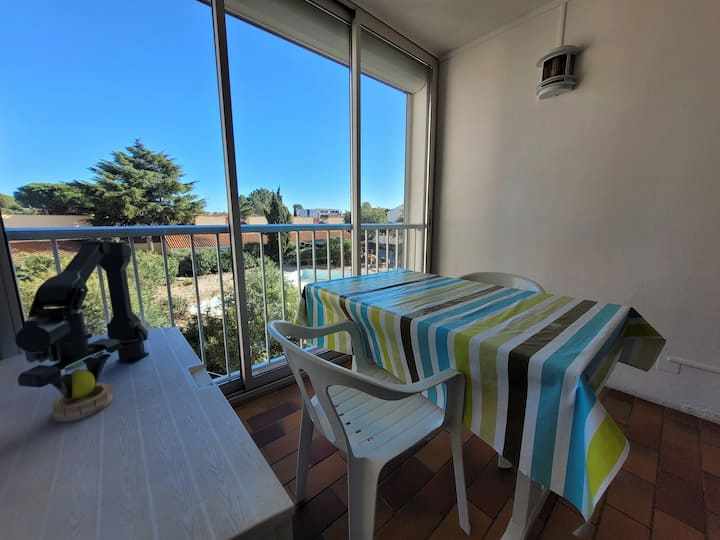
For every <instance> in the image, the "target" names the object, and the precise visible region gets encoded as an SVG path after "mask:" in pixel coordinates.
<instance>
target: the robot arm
mask: <svg viewBox="0 0 720 540" xmlns="http://www.w3.org/2000/svg"><path fill="white" fill-rule="evenodd" d="M131 257H132V248H131V246H130V245H129V244H127V243H126V242H124V241H107V240H104V239H103V240H102V239H100V240H99V239H98V240H97V239H96V240H84V241H82V242H81V245H80V249H79V250H78V251H77V252H76V254H75V255H74V256H73V258H72V259H71V260H70V261H69V263H68V264H67V265H66V266H65V268H64V269H63V270H62V271H61V272H60V273H59V274H55V275H54V276H51V277H50V278H47V280H45V281H43V283H42V284H40V285H39V286H38V288H37V290H36V292H35V294H34V297H33V300H32V303H31V307H30V310H29V313H28V318H30V319H28V320H25V321H24V327H23V328H21V329H20V330H19V331H18V332H17V333H16V337H15V338H14V340H15V343H16V345H17V346H18V347H19V348H20V349H21V350H23V351H24V355H25V358H26V360H27V362H28V363H30V364H31V363H35V362H38V363H39V365H36V366H33V367H31V368H30V369H27V370H25V371H23V372H20V373H19V375H18V376H17V383H18V386H19V387H29V388H42V387H43V388H44V387H46V386H48V385H52V386H53V387H54V388H56V390H57V391H58V392H59V393H60V395H63V396H64V397H65V398H66V399H70V398H71V397H72V374H70V373H66V369H68V368H67V367H70V366H72V365H74V364H76V363H78V362H80V361H82V360H83V362H84V363H83V364H85V365H86V370H88V371H90V372H91V373H92V374H93V376H94V378H95V384H96V383H98V379H99V377H100V375H101V373H102V371H103V369H104V367H105V365H106V364H107V363H106V362H107V361H108V359H109V358H111V357H112V356H111V355H112V354H113V353H115V352H116V351H117V354H118V359H116V363H123V364H124V363H126V364H129V363H130V364H135V363H136V362H139V361H140V360H142V359H144V358H145V357H147V356H148V354H149V355H150V352H145V345H144V344H145V343H144V342H145V341H148V337H149V331H148V330H147V329H146V328H145V327H144V326H143V325H142V323H141V319H140V318H139V317H138V316H137V314H135V313H134V312H133V309H132V308H133V307H132V302H131V295H130V288H129V282H128V276H127V268H128V266H129V264H130V263H131V261H132V258H131ZM98 266H99V267H100V268H102V269H103V270H104V271H105V275H106V281H107V288H108V292H109V300H110V306H111V312H112V317H111V319H110V321H109V322H108V323H107V324H106V326H105V327H106V329H107V330H106V331H107V337H108V338H100V339H97V340H95V341H93V342H90V343H89V339H91V338H93V336H92V333H90V332H89V333H88V332H87V328H86V324H85V317H84V312H83V311H84V310H86V309H87V305H85V304H83V303H84V301H85V300H86V298H87V295H88V292H89V289H88V286H87V281H88V280H89V279H90V277H91V275H92V274H93V272H94V271H95V269H96V268H97V267H98ZM48 360H49V362H53V363H54V361H58V362H59V363H56V364H55V363H54V364H52V365H44V364H43V365H42V364H41V363H43V362H46V361H48Z"/></svg>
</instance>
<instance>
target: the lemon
mask: <svg viewBox="0 0 720 540" xmlns="http://www.w3.org/2000/svg"><path fill="white" fill-rule="evenodd" d="M69 374H72V398H81V399H82V398H84V397H85V396H86V395H88V394H89V393H90V392H91V391H92V390H93V389H94V386H95V378H94V376H93V374H92V373H91V372H90V371H88V370H87V369H84V368H83V369H80V368H76V369H75V370H74V371H72V372H70V373H69Z"/></svg>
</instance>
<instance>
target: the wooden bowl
mask: <svg viewBox="0 0 720 540" xmlns="http://www.w3.org/2000/svg"><path fill="white" fill-rule="evenodd" d="M111 389H112V388H111V386H110V385H109V383H106V382H97V383H96V384H95V386H94V389H93V390H92V391H91V392H90V393H89V394H88V395H86V396H85V397H84V398H82V399H81V398H72V397H71V398H70V399H66V398H65V397H64V396H63V395H62V394H60V395H58V396H57V397H56V398H54V400H53V401H52V402H51V406H52V407H51V408H52V412H51V416H52V417H51V418H52V420H53V421H54V422H56V423H71V422H76V421H81V420H83V419H85V418H88V417H91V416H93V415H96V414H98V413H99V412H101V411H103V410H104V409H106V408H108V407H109V406H110V404H111V403H112V402H113V401H114V394H113V392H112V390H111Z"/></svg>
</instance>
